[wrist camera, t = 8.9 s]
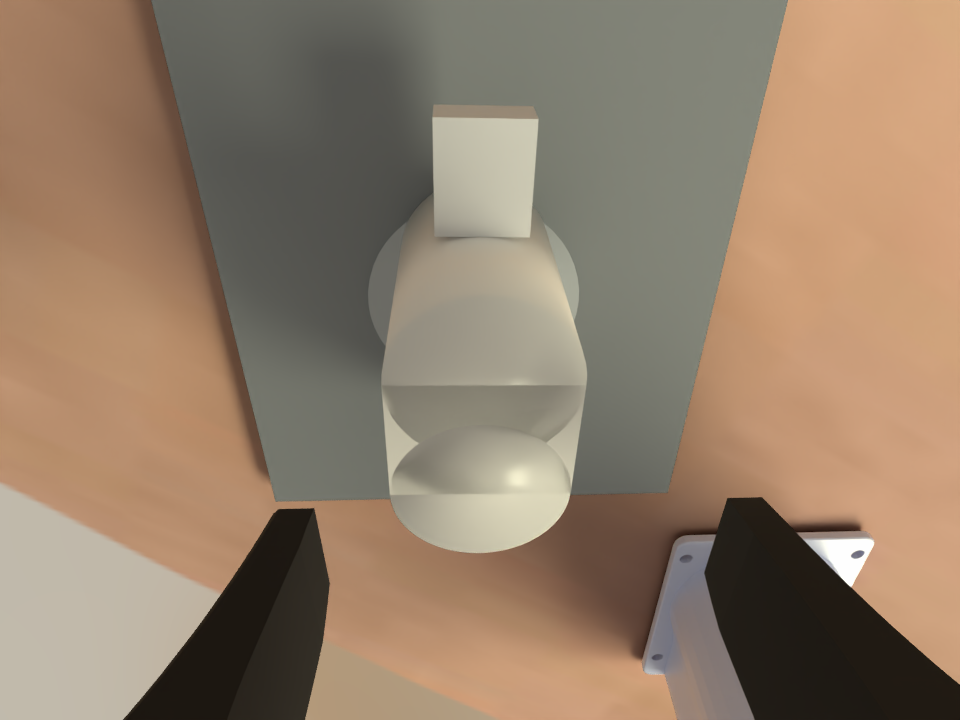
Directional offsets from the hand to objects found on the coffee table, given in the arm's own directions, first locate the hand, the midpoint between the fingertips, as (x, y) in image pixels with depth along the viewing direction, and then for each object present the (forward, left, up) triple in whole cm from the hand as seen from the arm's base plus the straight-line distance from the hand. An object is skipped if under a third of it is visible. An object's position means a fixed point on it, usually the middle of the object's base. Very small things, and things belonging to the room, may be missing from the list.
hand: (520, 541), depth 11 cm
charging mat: (0, +1, -9) cm, 9 cm away
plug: (+1, +1, -9) cm, 9 cm away
